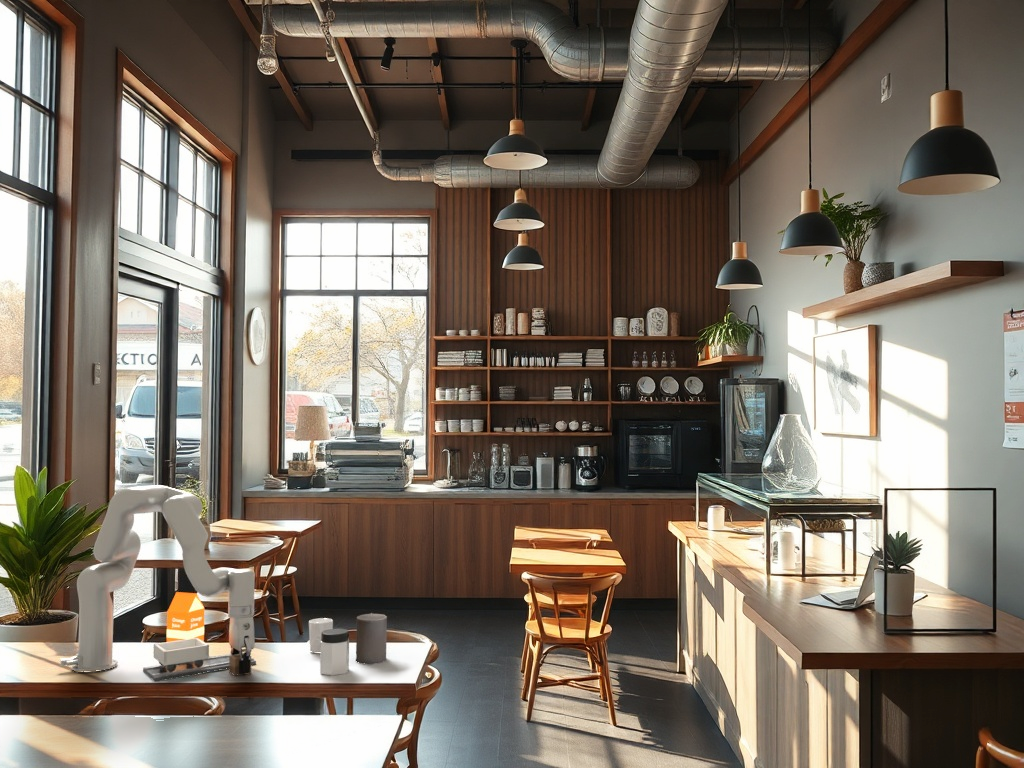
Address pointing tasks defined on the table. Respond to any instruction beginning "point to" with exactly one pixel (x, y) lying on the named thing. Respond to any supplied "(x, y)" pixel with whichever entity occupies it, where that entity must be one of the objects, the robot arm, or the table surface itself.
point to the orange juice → (185, 617)
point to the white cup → (318, 632)
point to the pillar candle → (371, 638)
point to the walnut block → (235, 664)
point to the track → (189, 668)
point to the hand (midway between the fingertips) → (240, 670)
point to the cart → (181, 652)
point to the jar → (334, 652)
